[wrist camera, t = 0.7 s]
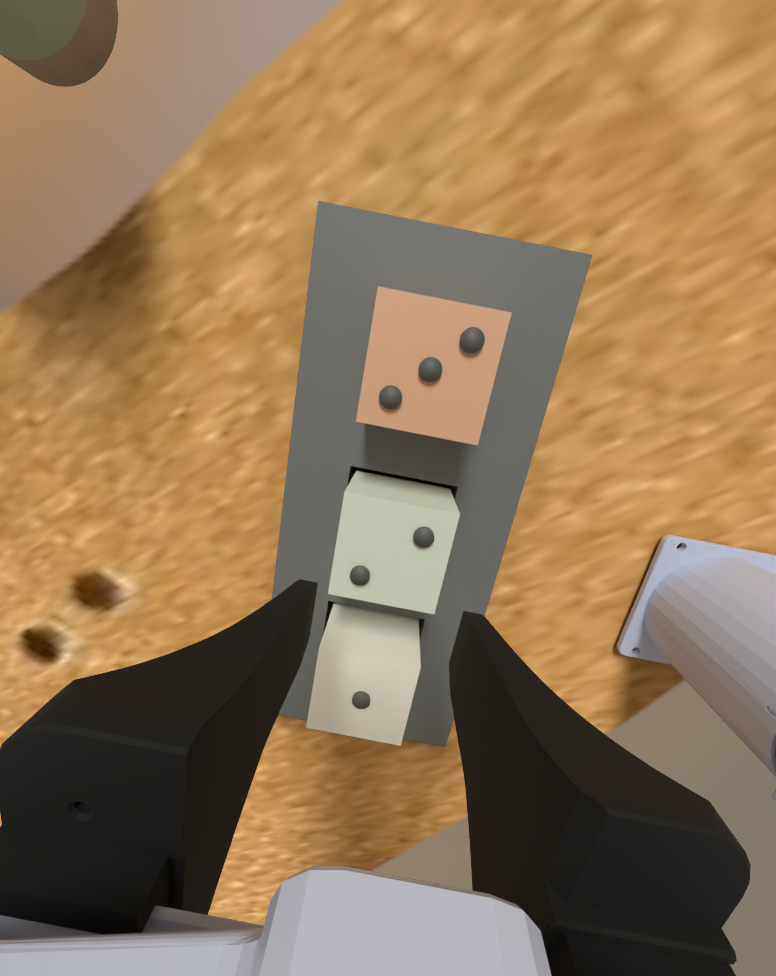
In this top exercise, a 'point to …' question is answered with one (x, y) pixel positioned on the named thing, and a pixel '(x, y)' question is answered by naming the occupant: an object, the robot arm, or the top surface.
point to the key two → (393, 542)
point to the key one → (365, 674)
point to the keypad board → (468, 468)
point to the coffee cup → (58, 37)
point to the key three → (430, 365)
